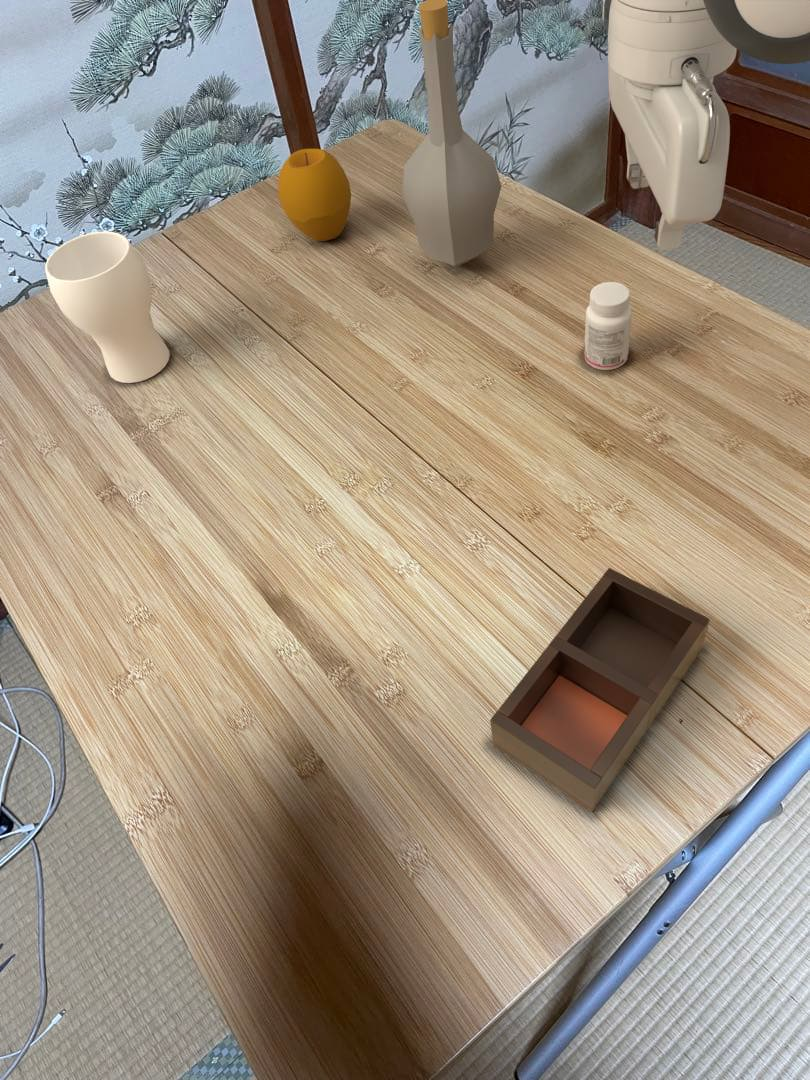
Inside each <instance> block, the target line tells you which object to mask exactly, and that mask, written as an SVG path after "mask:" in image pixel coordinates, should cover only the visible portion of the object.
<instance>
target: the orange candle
mask: <svg viewBox="0 0 810 1080" xmlns="http://www.w3.org/2000/svg"><path fill="white" fill-rule="evenodd" d="M277 194H278V200H279V203H280V206H281V209H282V210H283V211H284V214H285V215H286V217H287V218H288V220H289V221H290V222H291V223H292V224H293V226H295V227H296V228H297V229H298V230H299V231H300V232H301V233H303V234H304V235H305V236H306V237H308V238H309V239H311V240H313V241H315V242H325V241H326V242H327V241H331V240H334V239H336V238H338V237H339V236H340V235H341V234H342V232H343V230H344V229H345V227H346V224H347V222H348V218H349V214H350V210H351V202H352V191H351V185H350V182H349V179H348V176H347V173H346V172H345V170H344V168H343V167H342V166H341V164H340V162H339V161H338V160H337V159H336V157H334V155H332V154H331V153H330V152H329V151H327V150H324V149H321V148H303V149H299V150H296V151H294V152H292V153H291V154H290V155H289V156H288V157H287V159H286V160H285V162H283V164H282V166H281V168H280V171H279V176H278V181H277Z"/></svg>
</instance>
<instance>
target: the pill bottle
mask: <svg viewBox="0 0 810 1080" xmlns="http://www.w3.org/2000/svg"><path fill="white" fill-rule="evenodd" d="M630 295H631V292H630V289H629V288H628V287H627V286H626V285H624V284H623V283H621V282H618V281H617V282H616V281H604V282H602V283H598V284H597V285H595V286H593V288H592V289H591V290H590V293H589V302H588V303H589V304H588V306H587V308H586V310H585V322H584V323H585V325H584V352H583V353H584V354H583V355H584V356H583V357H584V360H585V362H586V363H587V364H588V365H589V366H590V367H592V368H593V369H596V370H600V371H610V370H615V369H618V368H621V366H623V365H624V364H625V363H626V362H627V361H628V358H629V353H630V352H629V351H630V336H631V328H632V327H631V326H632V317H633V310H632V307H631V305H630V302H631V299H630V297H631V296H630Z"/></svg>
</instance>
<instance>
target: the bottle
mask: <svg viewBox="0 0 810 1080" xmlns="http://www.w3.org/2000/svg"><path fill="white" fill-rule="evenodd" d="M448 3H449V2H448V1H447V0H424V1H422V2H421V3H419V5H418V9H419V15H420V16H419V17H420V22H421V27H418V35H419V40H420V41H419V42H420V45H421V46H420V47H421V53H422V59H423V68H424V77H425V88H426V95H427V105H428V106H427V107H428V109H427V110H428V111H427V112H428V114H427V115H428V121H427V122H428V123H427V124H428V125H427V127H428V128H427V131H428V132H427V134H426V136H425V137H424V138H423V139H422V141H421V143H420V144H419V145H418V146H417V148H416V149H415V151H413V153H412V155H411V156H410V158H409V159H408V160H407V161H406V163H405V165H404V166H403V174H402V184H401V185H402V186H401V197H402V199H403V201H404V203H405V205H406V207H407V209H408V212H409V213H410V216H411V218H412V220H413V223H414V227H415V232H416V237H417V242H418V247H419V248H420V249H421V250H422V252H423V253H424V254H425V255H426V257H429V258H430V259H432V260H433V261H438V262H440V263H444V264H447V265H451V266H453V267H454V268H455V269H459V268H460V267H461V266H462V265H464V264H466V263H469V262H470V261H471V260H473V259H475V258H476V257H478V256H479V255H481V254H482V253H484V252H485V251H486V250H487V248H488V247H489V246H490V245H491V244H492V243H493V242H494V238H495V237H494V234H495V233H494V231H495V230H494V229H495V227H494V226H495V224H494V222H495V211H496V208H497V205H498V202H499V201H498V200H499V198H500V193H501V189H502V183H501V181H500V177H499V173H498V169H497V166H496V162H495V159H494V157H493V156H491V154H489V153H488V151H486V150H485V149H484V148H483V147H482V146H481V145H480V144H479V143H478V142H477V141H475V140H474V139H473V137H472V136H470V135H469V134H468V133H467V132H466V131H465V130H464V129H463V125H462V120H461V115H460V109H459V104H458V95H457V93H458V92H457V82H456V69H455V57H454V56H455V55H454V27H453V26H454V25H453V23H452V24H449V5H448Z"/></svg>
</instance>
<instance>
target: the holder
mask: <svg viewBox="0 0 810 1080" xmlns="http://www.w3.org/2000/svg"><path fill="white" fill-rule="evenodd" d="M575 609H576V610H575V611H574V612H573V613H572V614H571V616H570V617H569V618H568V619H567V621H566V622H565V623H564V625H563V626H562V627H561V629H559V631H558V633H556V635H555V636H554V637H553V639H552V640H551V641H550V642H549V644H548V645H547V646H546V648H545V649H544V651H542V653H541V654H540V655H539V657H538V658H537V660H535V662H534V663H533V665H531V667H530V668H529V669H528V671H526V673H525V674H524V675H523V677H522V678H521V680H520V681H519V682H518V684H517V685H516V687H514V688H513V690H512V691H511V693H510V694H509V695H508V697H507V698H506V699H505V700H504V701H503V703H502V704H501V705H500V707H499V708H498V709H497V710H496V712H495V713H494V714H493V716H492V717H491V718H490V720H489V722H490V731H491V737H492V740H491V741H492V746H493V747H495V748H496V749H497V750H499V751H501V752H502V753H504V754H505V755H507V756H508V757H509V758H511V759H512V760H514V761H515V762H516V763H518V764H520V765H521V766H523V767H524V768H526V769H527V770H528V771H530V772H532V773H533V774H534V775H536V776H537V777H539V778H540V779H542V780H544V781H545V782H546V783H548V784H549V785H550V786H552V787H553V788H555V789H557V790H558V791H560V792H562V793H563V794H564V795H566V796H567V797H569V798H570V799H572V800H573V801H575V802H576V803H578V804H579V805H580V806H582V807H584V809H586V810H588V811H589V812H591V813H592V812H593V811H594V810H595V808H596V807H597V805H598V804H599V803H600V801H601V799H602V798H603V797H604V795H605V793H606V792H607V791H608V789H609V788H610V786H611V785H612V783H613V782H614V780H615V779H616V778H617V776H618V774H619V773H620V771H621V770H622V768H623V767H624V765H625V764H626V762H627V761H628V759H629V758H630V756H631V755H632V753H633V752H634V751H635V749H636V748H637V746H638V745H639V743H640V742H641V740H642V739H643V737H644V735H645V734H646V732H647V731H648V730H649V729H650V727H651V725H652V724H653V722H654V721H655V719H656V718H657V716H658V715H659V713H660V712H661V710H662V709H663V708H664V705H665V704H666V703H667V701H668V700H669V699H670V697H671V696H672V695H673V692H674V690H675V689H676V688H677V687H678V685H679V684H680V682H681V680H682V679H683V677H684V676H685V675H686V673H687V672H688V670H689V669H690V667H691V666H692V664H693V662H694V661H695V660H696V658H697V657H698V655H699V654H700V652H701V651H702V649H703V646H704V643H705V639H706V635H707V632H708V628H709V624H710V621H711V619H710V618H709V617H707V616H705V615H703V614H701V613H699V612H697V611H695V610H693V609H691V608H689V607H687V606H685V605H683V604H681V603H679V602H678V601H676V600H674V599H671V598H670V597H668V596H666V595H663V594H661V593H660V592H658V591H656V590H654V589H652V588H650V587H648V586H646V585H644V584H642V583H640V582H638V581H636V580H634V579H632V578H631V577H628V576H626V575H625V574H622V573H620V572H618V571H617V570H614V569H612V568H610V567H608V568H607V569H606V571H605V572H604V573H603V575H602V576H601V578H600V579H599V580H598V581H597V583H596V584H595V585H594V586H593V588H592V589H591V590H590V591H589V592H588V594H587V595H586V596H585V598H584V599H583V600H582V601H581V602H580V605H578V607H577V608H575Z"/></svg>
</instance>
